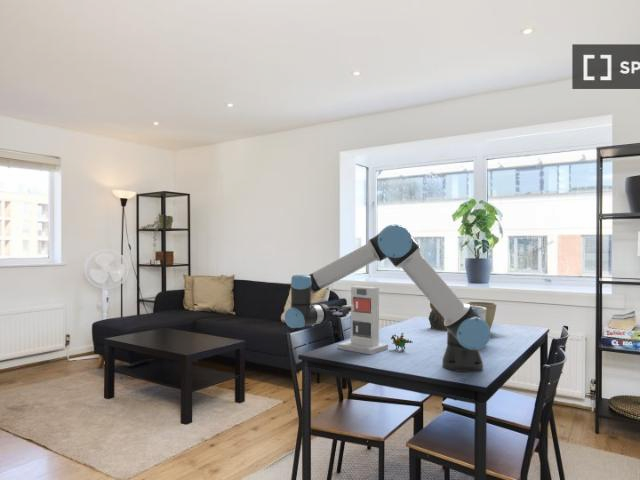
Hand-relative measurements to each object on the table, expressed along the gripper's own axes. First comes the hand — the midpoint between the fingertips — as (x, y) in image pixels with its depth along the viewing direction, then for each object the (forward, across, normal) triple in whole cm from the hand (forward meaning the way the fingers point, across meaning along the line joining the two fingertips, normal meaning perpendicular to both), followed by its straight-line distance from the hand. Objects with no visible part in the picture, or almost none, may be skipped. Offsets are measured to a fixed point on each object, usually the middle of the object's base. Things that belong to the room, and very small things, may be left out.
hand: (352, 307), depth 195 cm
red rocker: (+12, -3, -3) cm, 12 cm away
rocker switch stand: (+12, -3, -20) cm, 23 cm away
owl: (+85, +3, -20) cm, 87 cm away
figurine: (+21, +12, -20) cm, 32 cm away
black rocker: (+12, -3, -14) cm, 18 cm away
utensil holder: (+56, +30, -20) cm, 67 cm away
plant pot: (+88, +24, -20) cm, 93 cm away
